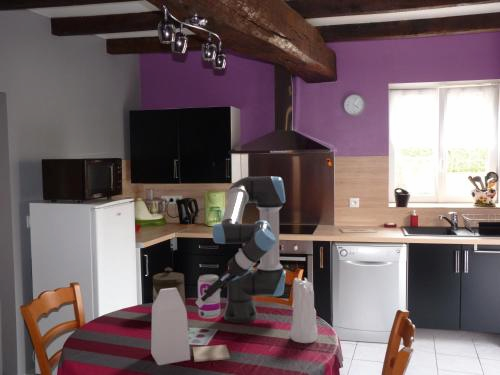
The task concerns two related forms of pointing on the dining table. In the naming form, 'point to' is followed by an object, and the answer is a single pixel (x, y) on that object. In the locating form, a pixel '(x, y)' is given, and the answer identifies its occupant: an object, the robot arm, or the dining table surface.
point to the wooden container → (168, 283)
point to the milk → (169, 328)
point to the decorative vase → (303, 313)
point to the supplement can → (213, 304)
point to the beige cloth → (210, 353)
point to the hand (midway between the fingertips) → (203, 301)
